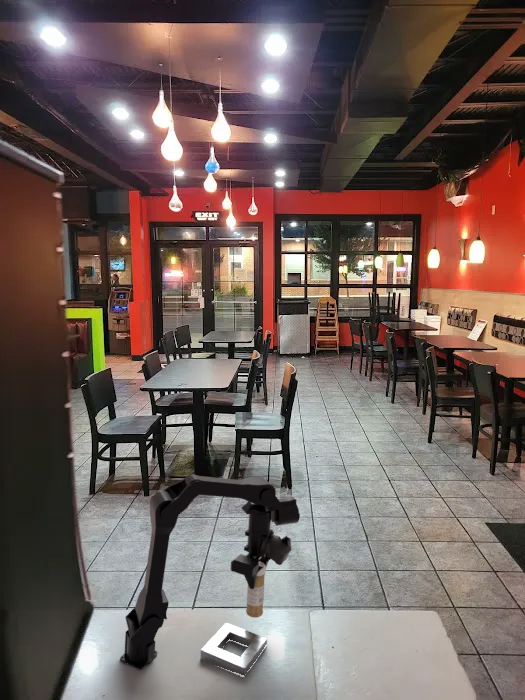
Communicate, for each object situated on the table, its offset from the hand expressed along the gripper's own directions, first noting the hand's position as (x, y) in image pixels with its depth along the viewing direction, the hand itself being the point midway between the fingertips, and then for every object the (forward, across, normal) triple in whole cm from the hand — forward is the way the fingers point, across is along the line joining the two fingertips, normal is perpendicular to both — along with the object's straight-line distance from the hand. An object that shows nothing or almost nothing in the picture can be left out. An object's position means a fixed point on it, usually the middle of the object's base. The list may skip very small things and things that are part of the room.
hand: (255, 584), depth 129 cm
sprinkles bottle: (+8, 0, 0) cm, 8 cm away
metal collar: (+13, -10, 0) cm, 16 cm away
